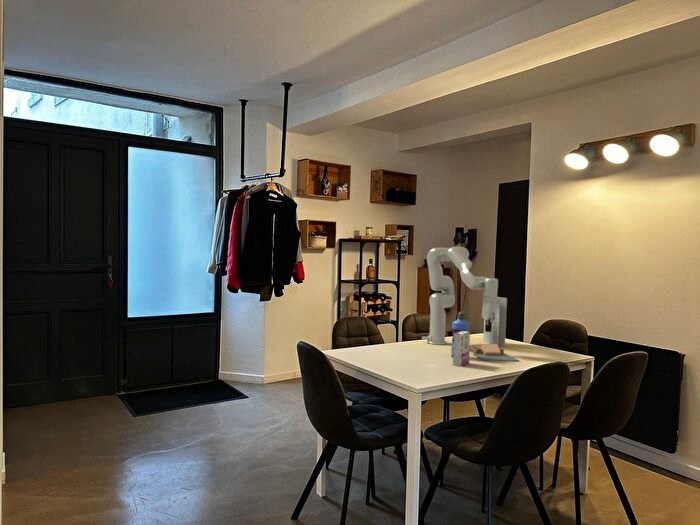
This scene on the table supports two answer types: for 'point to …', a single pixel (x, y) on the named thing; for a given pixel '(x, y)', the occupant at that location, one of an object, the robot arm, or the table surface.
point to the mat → (495, 357)
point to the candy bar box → (461, 348)
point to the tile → (490, 349)
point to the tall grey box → (497, 324)
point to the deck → (479, 349)
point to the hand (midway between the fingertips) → (488, 331)
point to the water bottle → (459, 327)
